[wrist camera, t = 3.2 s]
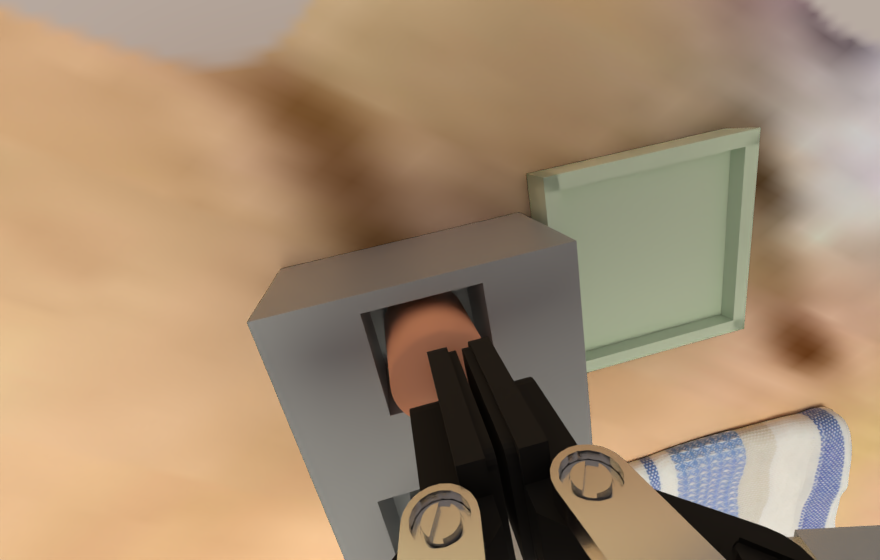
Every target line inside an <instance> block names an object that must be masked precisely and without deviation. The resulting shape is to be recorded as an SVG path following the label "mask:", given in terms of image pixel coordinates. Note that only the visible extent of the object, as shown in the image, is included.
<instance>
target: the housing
mask: <svg viewBox="0 0 880 560" xmlns="http://www.w3.org/2000/svg"><path fill="white" fill-rule="evenodd" d="M449 291H451V292H452V293H454V294H455V295H456V296H457V298H458V299H459V300H460V302H461V304H462V305H463V307H464V309H465V311H466V312H467V314H468V316H469V317H470V319H471V321H472V323H473V324H474V326H475V328H476V330H477V331H478V333H479V335H480V337H481V338H483V337H489V339H490V340H491V342H492V344H493V346H494V347H495V349H496V351H497V352H498V354H499V356H500V358H501V359H502V361H503V363H504V365H505V366H506V368H507V370H508V372H509V373H510V375H511V377H512V379H513V380H514V381H516V380H519V379H523V378H527V377H532V378H533V379H534V380H535V381H536V383H537V384H538V386H539V387H540V389H541V390H542V392H543V393H544V395H545V396H546V398H547V399H548V401H549V402H550V404H551V405H552V407H553V408H554V410H555V411H556V413H557V415H558V416H559V418H560V419H561V421H562V422H563V424H564V425H565V427H566V428H567V430H568V431H569V433H570V434H571V436H572V437H573V439H574V440H575V442H576V443H577V445H586V444H591V445H592V433H591V420H590V408H589V395H588V382H587V369H586V356H585V343H584V330H583V318H582V305H581V292H580V279H579V266H578V253H577V241H576V240H574V239H572V238H570V237H568V236H566V235H564V234H562V233H560V232H558V231H556V230H554V229H552V228H550V227H548V226H546V225H544V224H542V223H540V222H538V221H536V220H534V219H532V218H530V217H528V216H526V215H524V214H522V213H520V212H518V213H514V214H510V215H506V216H501V217H497V218H493V219H489V220H485V221H480V222H476V223H472V224H468V225H464V226H459V227H455V228H451V229H447V230H443V231H438V232H434V233H430V234H426V235H421V236H417V237H413V238H409V239H405V240H400V241H396V242H392V243H388V244H384V245H379V246H375V247H371V248H367V249H363V250H358V251H354V252H350V253H346V254H342V255H337V256H333V257H329V258H325V259H321V260H316V261H312V262H308V263H304V264H299V265H295V266H291V267H287V268H283V269H280V271H279V272H278V274H277V275H276V277H275V279H274V280H273V282H272V283H271V285H270V286H269V288H268V290H267V291H266V293H265V294H264V296H263V298H262V299H261V301H260V302H259V304H258V305H257V307H256V309H255V310H254V312H253V313H252V315H251V317H250V318H249V320H248V321H247V324H248V326H249V329H250V331H251V334H252V336H253V338H254V341H255V343H256V346H257V348H258V351H259V353H260V355H261V358H262V360H263V363H264V365H265V368H266V370H267V372H268V375H269V377H270V380H271V382H272V384H273V387H274V389H275V392H276V394H277V397H278V399H279V401H280V404H281V406H282V409H283V411H284V414H285V416H286V418H287V421H288V423H289V426H290V428H291V430H292V433H293V435H294V438H295V440H296V443H297V445H298V447H299V450H300V452H301V455H302V457H303V460H304V462H305V464H306V467H307V469H308V472H309V474H310V476H311V479H312V481H313V484H314V486H315V489H316V491H317V493H318V496H319V498H320V501H321V503H322V506H323V508H324V510H325V513H326V515H327V518H328V520H329V522H330V525H331V527H332V530H333V532H334V535H335V537H336V539H337V542H338V544H339V547H340V549H341V552H342V554H343V556H344V559H345V560H392V559H393V557H394V556H395V555H396V553H397V552H398V543H399V531H400V522H401V518H402V514H403V511H404V509H405V508H406V506H407V504H408V503H409V501H410V500H411V499H410V492H412V491H415V490H419V489H420V487H419V479H418V472H417V464H416V457H415V449H414V442H413V434H412V427H411V419H410V417H409V416H408V415H406V414H405V413H404V412H403V411H402V410H401V409H400V408H399V407H398V406H397V404H396V402H395V401H394V399H393V396H392V393H391V388H390V379H389V369H388V360H387V350H386V340H385V330H384V318H385V313H386V311H387V308H388V307H389V306H393V305H397V304H401V303H405V302H409V301H413V300H417V299H421V298H425V297H429V296H433V295H437V294H441V293H445V292H449Z"/></svg>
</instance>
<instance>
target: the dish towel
mask: <svg viewBox="0 0 880 560" xmlns="http://www.w3.org/2000/svg"><path fill="white" fill-rule="evenodd" d="M851 456H852V443H851V434H850V431H849V428H848V425H847V424H846V422H845V420H844V419H843V418H842V417H841V416H840V415H838V414H837V413H835V412H834V411H833V410H831V409H829V408H827V407H818V408H812V409H808V410H805V411H803V412H800V413H797V414H794V415H789V416H784V417H780V418H776V419H772V420H768V421H764V422H761V423H757V424H754V425H750V426H746V427H742V428H739V429H736V430H730V431H725V432H721V433H718V434H714V435H710V436H706V437H703V438H700V439H696V440H693V441H690V442H687V443H684V444H680V445H677V446H674V447H672V448H669V449H666V450H663V451H660V452H658V453H655V454H653V455H650V456H648V457H645V458H642V459H639V460H635V461H632V462H629V463H628V464H629V465H630V466H631V467H632V468H633V469H634V470H635V471H636V472H637V473H638V474H639V475H640V476H641V477H642V478H643V479H644V480H645V481H646V482H647V483H648V484H649V485H650V486H652V487H653V488H654V489H656V490H659V491H661V492H664V493H667V494H670V495H673V496H676V497H679V498H682V499H685V500H688V501H691V502H694V503H697V504H700V505H703V506H706V507H709V508H712V509H715V510H717V511H720V512H723V513H726V514H729V515H732V516H735V517H738V518H741V519H744V520H747V521H750V522H753V523H756V524H759V525H762V526H765V527H767V528H769V529H772V530H774V531H776V532H778V533H781V534H783V535H784V536H786V537H794V532H795V530H798V529H818V528H835V518H836V513H837V509H838V505H839V501H840V497H841V495H842V493H843V492H844V491H845V490H846V489H847V486H848V477H849V471H850V465H851Z"/></svg>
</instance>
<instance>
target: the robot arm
mask: <svg viewBox="0 0 880 560" xmlns="http://www.w3.org/2000/svg"><path fill="white" fill-rule="evenodd" d="M427 355H428V360H429V364H430V368H431V372H432V376H433V380H434V385H435V389H436V393H437V397H438V401H436V402H433V403H429V404H425V405H421V406H418V407H414V408H410V409H409V411H410V419H411V427H412V434H413V442H414V449H415V457H416V464H417V472H418V479H419V487H420V492H419V493H417V494H416V495H415V496H414V497H413V498H412V499H411V500H410V501H409V503H408V504H407V506H406V508H405V509H404V511H403V514H402V518H401V522H400V531H399V543H398V552H397V553H396V555H395V556H394V557H393V559H392V560H516V557H515V552H514V546H513V541H512V536H511V531H510V525H511V527H512V530H513V533H514V536H515V539H516V542H517V544H518V547H519V550H520V553H521V556H522V558H523V560H880V525H877V526H857V527H838V528H818V529H798V530H795V532H794V537H786V536H784V535H783V534H781V533H778V532H776V531H774V530H772V529H769V528H767V527H765V526H762V525H759V524H756V523H753V522H750V521H747V520H744V519H741V518H738V517H735V516H732V515H729V514H726V513H723V512H720V511H717V510H715V509H712V508H709V507H706V506H703V505H700V504H697V503H694V502H691V501H688V500H685V499H682V498H679V497H676V496H673V495H670V494H667V493H664V492H661V491H659V490H656V489H654V488H653V487H652V486H650V485H649V484H648V483H647V482H646V481H645V480H644V479H643V478H642V477H641V476H640V475H639V474H638V473H637V472H636V471H635V470H634V469H633V468H632V467H631V466H630V465H629V464H628V463H627V462H626V461H625V460H624V459H623V458H621V457H620V456H619V455H617V454H616V453H615V452H613V451H611V450H609V449H606V448H604V447H601V446H596V445H591V444H586V445H577V443H576V442H575V440H574V439H573V437H572V436H571V434H570V433H569V431H568V430H567V428H566V427H565V425H564V424H563V422H562V421H561V419H560V418H559V416H558V415H557V413H556V411H555V410H554V408H553V407H552V405H551V404H550V402H549V401H548V399H547V398H546V396H545V395H544V393H543V392H542V390H541V389H540V387H539V386H538V384H537V383H536V381H535V380H534V379H533V378H532V377H527V378H523V379H519V380H516V381H514V380H513V379H512V377H511V375H510V373H509V372H508V370H507V368H506V366H505V365H504V363H503V361H502V359H501V358H500V356H499V354H498V352H497V351H496V349H495V347H494V346H493V344H492V342H491V340H490V339H489V337H483V338H480V339H476V340H472V341H468V347H466V348H462V355H463V360H464V365H465V369H466V374H467V378H466V376H465V373H464V370H463V368H462V365H461V363H460V360H459V357H458V355H457V352H456V350H455V351H451V352H448V350H447V347H444V348H440V349H436V350H433V351H429V352H427ZM467 379H468V381H467ZM508 519H509V520H508ZM509 522H510V525H509Z"/></svg>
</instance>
